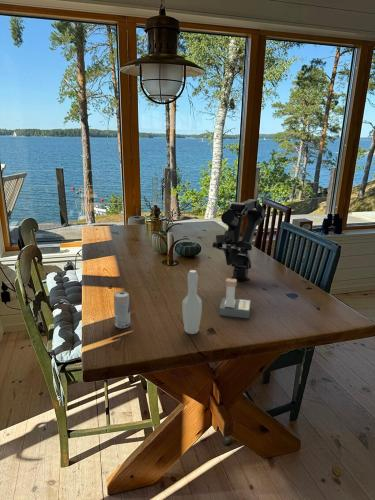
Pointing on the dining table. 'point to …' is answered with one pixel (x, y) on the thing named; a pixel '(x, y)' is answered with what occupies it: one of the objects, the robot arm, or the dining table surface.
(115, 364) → the dining table surface
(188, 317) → the faceted bottle
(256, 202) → the robot arm
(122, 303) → the energy drink
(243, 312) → the switch unit
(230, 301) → the slider knob
